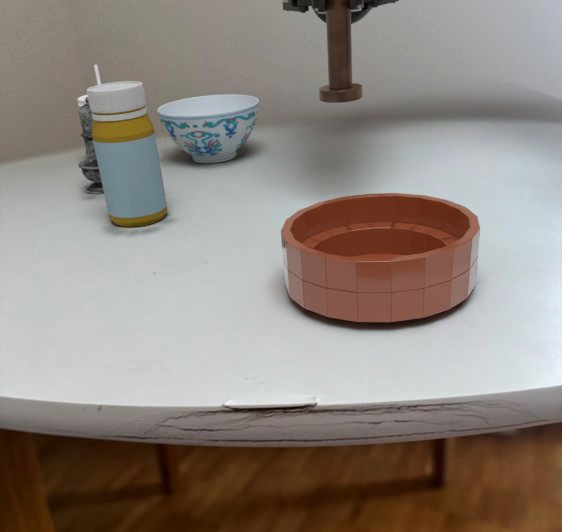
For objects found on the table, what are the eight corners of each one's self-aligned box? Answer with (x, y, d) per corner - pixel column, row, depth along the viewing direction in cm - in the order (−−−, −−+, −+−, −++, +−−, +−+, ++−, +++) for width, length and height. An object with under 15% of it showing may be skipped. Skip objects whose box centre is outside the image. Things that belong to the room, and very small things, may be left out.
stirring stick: (356, 92, 80) (353, -96, 70) (367, 99, 76) (365, -99, 66) (315, 97, 79) (306, -92, 70) (324, 104, 75) (316, -95, 66)
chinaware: (226, 174, 97) (219, 117, 93) (145, 166, 105) (136, 113, 101) (281, 148, 108) (277, 95, 104) (205, 142, 115) (198, 93, 111)
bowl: (435, 243, 70) (438, 184, 67) (506, 315, 56) (513, 245, 53) (274, 264, 69) (269, 205, 66) (305, 343, 55) (300, 273, 52)
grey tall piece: (114, 179, 100) (96, 90, 94) (134, 186, 96) (117, 94, 90) (76, 189, 97) (55, 98, 91) (95, 197, 93) (75, 103, 87)
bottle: (104, 216, 86) (75, 87, 78) (157, 204, 88) (135, 78, 80) (119, 232, 80) (91, 95, 72) (176, 219, 83) (154, 85, 75)
